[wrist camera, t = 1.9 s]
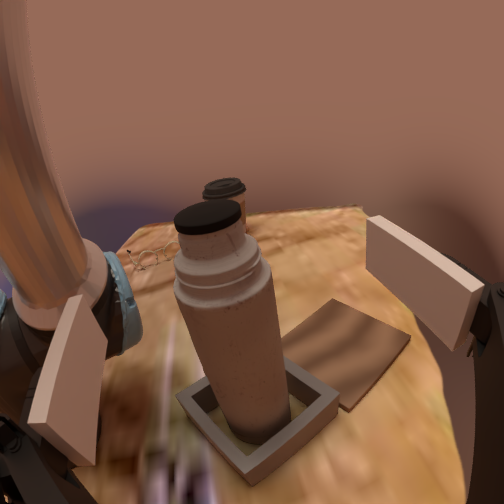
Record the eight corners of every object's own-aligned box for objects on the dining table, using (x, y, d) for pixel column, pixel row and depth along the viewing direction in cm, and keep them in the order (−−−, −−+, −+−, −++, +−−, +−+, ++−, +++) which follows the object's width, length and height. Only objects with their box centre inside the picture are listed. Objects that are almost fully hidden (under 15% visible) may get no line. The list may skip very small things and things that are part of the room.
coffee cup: (217, 250, 77) (204, 194, 70) (208, 233, 87) (197, 184, 80) (259, 237, 80) (250, 182, 72) (246, 223, 89) (237, 173, 82)
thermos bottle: (218, 412, 36) (140, 214, 23) (267, 384, 40) (227, 184, 26) (250, 455, 30) (170, 247, 17) (303, 421, 33) (284, 203, 20)
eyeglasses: (133, 275, 73) (126, 258, 71) (128, 253, 86) (123, 238, 84) (194, 253, 79) (189, 236, 76) (181, 234, 91) (176, 219, 89)
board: (265, 354, 45) (264, 350, 44) (332, 302, 53) (332, 298, 52) (348, 412, 33) (349, 408, 33) (410, 340, 41) (411, 335, 41)
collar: (178, 404, 38) (166, 384, 36) (254, 354, 45) (249, 331, 43) (252, 486, 26) (244, 474, 24) (337, 413, 33) (340, 393, 31)
